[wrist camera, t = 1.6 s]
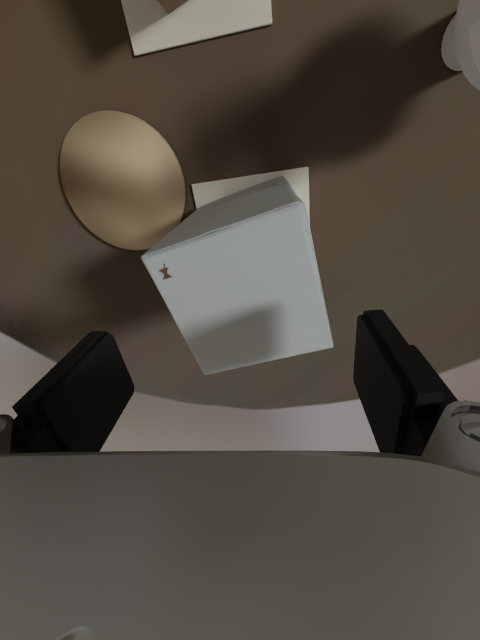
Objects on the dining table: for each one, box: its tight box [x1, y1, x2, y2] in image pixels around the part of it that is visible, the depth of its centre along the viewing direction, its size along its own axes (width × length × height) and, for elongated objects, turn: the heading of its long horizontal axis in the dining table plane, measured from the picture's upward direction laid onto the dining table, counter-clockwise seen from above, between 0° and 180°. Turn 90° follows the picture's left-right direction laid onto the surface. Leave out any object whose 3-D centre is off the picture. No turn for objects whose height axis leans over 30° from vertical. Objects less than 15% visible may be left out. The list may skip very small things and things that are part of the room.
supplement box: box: [141, 176, 333, 375], centre depth 18 cm, size 7×7×13 cm
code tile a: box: [192, 167, 310, 226], centre depth 24 cm, size 9×9×1 cm
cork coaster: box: [60, 110, 186, 250], centre depth 23 cm, size 10×10×1 cm
